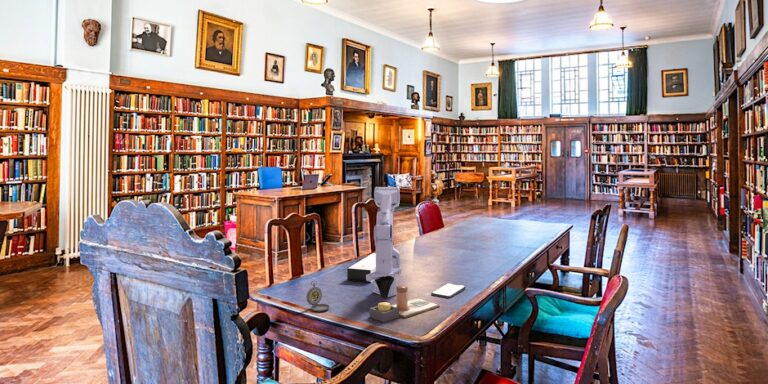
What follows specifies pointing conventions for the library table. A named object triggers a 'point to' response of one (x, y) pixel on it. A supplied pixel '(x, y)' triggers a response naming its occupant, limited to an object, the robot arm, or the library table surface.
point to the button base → (384, 314)
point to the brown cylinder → (402, 297)
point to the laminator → (362, 269)
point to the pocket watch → (316, 299)
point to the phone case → (448, 290)
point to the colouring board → (416, 307)
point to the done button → (384, 306)
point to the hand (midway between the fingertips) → (384, 297)
